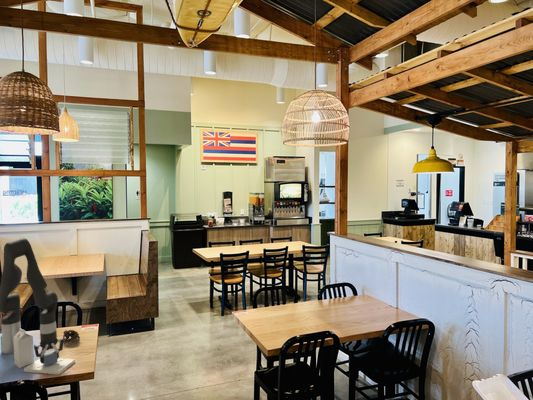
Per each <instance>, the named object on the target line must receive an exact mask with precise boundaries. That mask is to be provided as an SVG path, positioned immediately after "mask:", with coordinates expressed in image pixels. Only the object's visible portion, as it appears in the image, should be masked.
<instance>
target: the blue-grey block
mask: <svg viewBox="0 0 533 400" xmlns="http://www.w3.org/2000/svg"><path fill="white" fill-rule="evenodd" d="M43 357H44V363H43V364H44V366H47V365H50V364H53V363H57V352H56V351H55V349H49V350H46V352H45V353H44V355H43Z"/></svg>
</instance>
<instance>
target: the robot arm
mask: <svg viewBox="0 0 533 400" xmlns="http://www.w3.org/2000/svg"><path fill="white" fill-rule="evenodd" d="M23 256H25V258H26V260H27V261H26V262H27V267H26V275H25V276H26V281H27V283H28V285H29V287H30V289H31V291H32V295H33V299H34V303H35V305H36V307H37V308H39V309H41V310H42V311H41V312H40V314H39V324H40V325H39V335H40V336H39V337H40V342H39V343H37V344H33V351H34V353H35V356H36V357H37V358H39V359H40V362H41V363H42V364H43V363H44V357H43V355H44V353H45V352H46V351H50V350H55V351H56V352H57V359H58V358H60V354H59V353H60V352H61V351H63V348H64V344H63V342H64V340H63V337H61V338H58V333H57V332H58V331H57V322H56V311H57V306H58V302H59V300H58V299H59V298H58V294H57V293H56V292H54V291H49V292H48V291H47V292H46V293H45V289H46V288H47V287H48V283H47V281H46V279H45V278H44V276H43V274H42V272H41V270H40V268H39V265H38V261H37V260H36V255H35V254H34V251H33V248H32V245H31V243H30V241H29V240H28V239H27V238H25V237H20V238H17V239H14V240H10V241H8V242H6V243H5V244H4V247H3V265H2V273H1V277H0V313H6V312H9V313H8V314H6V315H4V316H3V317H2V318H1V319H0V323H1V324H0V325H1V335H0V351H1V353H3V354H5V355H12V354H14V340H13V337H14V336H15V335H16V334H17V333H18V332H19V331H20V328H21V327H22V325H21V298H20V295H19V294H18V293H17V292H16V293H15V292H14V293H12V292H13V291H15V289H16V288H17V287H18V286H19V285H20V283H21V281H22V275H23V271H22V269H21V268H20V267H19V265H17V264H16V263H15V262H16V259H17V258H21V257H23ZM21 329H22V328H21ZM57 344H58V345H59V346H58V348H57ZM40 348H41V350H40ZM39 350H40V353H39Z"/></svg>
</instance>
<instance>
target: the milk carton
mask: <svg viewBox="0 0 533 400" xmlns="http://www.w3.org/2000/svg"><path fill="white" fill-rule="evenodd" d="M13 340H14V353H13V354H14V355H13V356H14V364H15V366H17V368H19V369H21V368H24V367H27V366H29V365H30V364H32V363H34V362H35V357H34V353H35V350H34V336H33V335H32V334H30V333H29V332H27V331H26V330H25V329H22V328H20V331H19V332H18V333H17V334H16V335H15V336H14V337H13Z"/></svg>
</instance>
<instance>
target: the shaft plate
mask: <svg viewBox="0 0 533 400" xmlns="http://www.w3.org/2000/svg"><path fill="white" fill-rule="evenodd" d="M75 363H76V359H74V358H61V357H59V358H58V359H57V363H53V364H50V365H47V366H44V364H42V363H41V362H40V358H38V359H37V360H34V363H32V364H29V365H26V366H25V368H24V367H23V372H24V373H26V372H27V373H37V374H47V373H48V375H60V374H61V373H63V372H64V371H65V370H67V369H68V368H69V367H71V366H72V365H73V364H75Z"/></svg>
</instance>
